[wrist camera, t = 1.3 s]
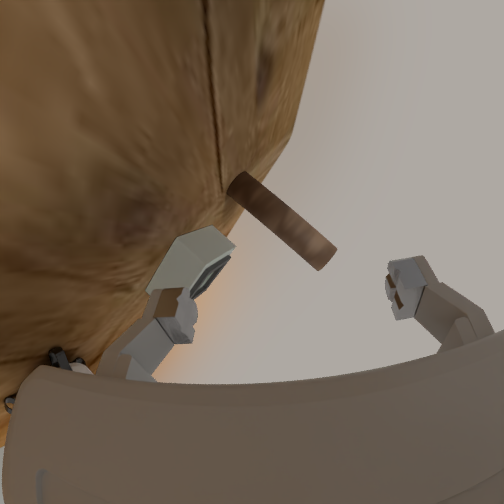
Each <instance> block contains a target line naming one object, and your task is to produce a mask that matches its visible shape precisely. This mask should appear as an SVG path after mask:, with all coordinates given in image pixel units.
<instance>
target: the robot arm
mask: <svg viewBox="0 0 504 504" xmlns="http://www.w3.org/2000/svg"><path fill="white" fill-rule="evenodd" d="M387 269H388V271H389V274H388V275H387V276H386V280H385V289H386V293H387V297H388V299H389V300H390V301H391V302H393V303H392V307H391V308H392V311H393V313H394V316H395V319H396V320H401V319H407V318H412V317H414V318H415V319H416V320H417V321H418V322H419V323H420V324H421V325H422V326H423V327H424V328H426V329H427V330H428V331H429V332H430V333H431V334H432V335H433V336H434V337H435V338H436V339H437V340H438V341H439V342H440V343H441V344H442V345H441V347H440V349H439V350H438V352H437V354H434V355H430V356H427V357H423V358H420V359H416V360H412V361H408V362H404V363H400V364H396V365H391V366H387V367H382V368H378V369H372V370H367V371H361V372H356V373H350V374H345V375H338V376H331V377H323V378H316V379H307V380H297V381H286V382H272V383H255V384H227V385H226V384H208V385H207V384H177V383H160V382H157V381H156V380H155V379H154V378H153V377H152V376H151V375H152V373H153V372H154V371H155V369H156V368H157V367H158V366H159V364H160V363H161V362H162V360H163V359H164V358H165V356H166V355H167V354H168V353H169V351H170V350H171V349H172V347H173V346H174V344H188V343H192V342H193V337H194V332H195V330H194V328H193V325H194V324H195V323H196V322H197V317H198V313H197V312H198V311H197V306H196V303H195V301H194V300H193V299H191V298H189V297H190V292H189V290H188V288H186V287H180V288H165V289H154V290H153V291H152V292H151V295H150V297H149V300H148V303H147V305H146V308H145V311H144V313H143V316H142V319H138V320H137V321H136V322H135V323H134V324H133V325H131V326H130V327H129V328H128V329H127V330H126V331H125V332H124V333H123V334H122V335H121V336H120V337H119V338H118V339H117V340H116V341H114V342H113V343H112V344H111V345H110V346H109V347H108V348H107V349H106V350H105V351H104V352H103V355H102V358H101V360H100V363H99V366H98V369H97V371H96V374H95V375H92V374H86V373H81V372H75V371H70V370H65V369H60V368H56V367H51V366H47V365H40V366H39V367H37V368H36V369H35V370H34V371H33V372H32V373H31V374H30V375H29V376H28V377H27V378H26V379H25V380H24V381H23V382H22V384H21V386H20V388H19V390H18V393H17V396H16V399H15V402H14V406H13V409H12V413H11V417H10V421H9V426H8V430H7V436H6V442H5V448H4V457H3V469H2V489H3V497H4V503H5V504H504V330H502V331H500V332H497V333H495V332H494V330H493V328H492V326H491V324H490V322H489V320H488V318H487V316H486V314H485V312H484V310H483V309H481V308H480V307H478V306H477V305H475V304H474V303H473V302H471V301H470V300H468V299H467V298H465V297H464V296H462V295H461V294H459V293H458V292H456V291H455V290H453V289H452V288H450V287H449V286H447V285H446V284H444V283H443V282H442V283H439V281H438V279H437V278H436V276H435V274H434V272H433V271H432V269H431V267H430V266H429V264H428V262H427V260H426V259H425V257H424V256H416V257H411V258H405V259H399V260H393V261H389V263H388V268H387Z"/></svg>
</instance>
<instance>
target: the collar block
mask: <svg viewBox="0 0 504 504" xmlns="http://www.w3.org/2000/svg"><path fill="white" fill-rule="evenodd" d="M235 247H236V246H235V245H234V244H233V243H232V242H231V241H230V240H228V239H227V238H226V237H225V236H224V235H223V234H222V233H221V232H219V231H218V230H217V229H216V228H215V227H214V226H213V225H210V226H208V227H205V228H202V229H199V230H196V231H193V232H190V233H187V234H184V235H182V236H179V237H176V239H175V241H174V242H173V244H172V246H171V247H170V249H169V250H168V252H167V254H166V255H165V257H164V259H163V260H162V262H161V264H160V266H159V267H158V269H157V271H156V272H155V274H154V276H153V278H152V279H151V281H150V283H149V285H148V286H147V288H146V290H145V291H146V292H147V293H148V294H149V295H151V292H152V291H153V290H154V289H165V288H180V287H186V288H188V290H189V292H190V297H189V298H191V299H193V300H194V299H195V298H197V297H198V296H199V295H200V294H202V293H203V292H204V291H206V289H207V288H208V287H209V286H210V284H211V283H212V281H213V280H214V279H215V278H216V276H217V275H218V274H219V272H220V271H221V270H222V269H223V267H224V266H225V265H226V263H227V262H228V261H229V260H230V258H231V257H230V256H229V255H230V254H231V253H232V251H233V250H234V249H235Z"/></svg>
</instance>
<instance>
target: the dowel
mask: <svg viewBox="0 0 504 504" xmlns="http://www.w3.org/2000/svg"><path fill="white" fill-rule="evenodd" d="M227 194H228V195H229V196H230V197H232V198H233V199H234V200H235V201H236V202H238V203H239V204H240V205H241V206H242V207H244V208H245V209H246V210H247V211H248V212H250V213H251V214H252V215H253V216H254V217H255V218H257V219H258V220H259V221H260V222H262V223H263V224H264V225H265V226H266V227H267V228H268V229H270V230H271V231H272V232H273V233H275V235H277V236H278V237H279V238H280V239H282V240H283V241H284V242H285V243H286V244H287V245H288V246H289V247H291V248H292V249H293V250H294V251H295V252H296V253H297V254H299V255H300V256H301V257H302V258H303V259H304V260H306V261H307V262H308V263H309V264H310V265H311V266H312V267H313V268H315V269H316V270H317V271H319V270H321V269H322V268H323V267H324V266H325V265H326V264H327V262H329V260H330V259H331V258H332V257H333V255H334V254H335V252H336V251H337V248H336V247H335V246H334V245H333V244H332V243H331V242H329V241H328V240H327V239H326V238H325V237H324V236H323V235H321V234H320V233H319V232H318V231H317V230H316V229H315V228H313V227H312V226H311V225H310V224H309V223H308V222H307V221H305V220H304V219H303V218H302V217H301V216H299V215H298V214H297V213H296V212H295V211H294V210H292V209H291V208H290V207H289V206H288V205H286V204H285V203H284V202H283V201H281V200H280V199H279V198H278V197H277V196H275V195H274V194H273V193H272V192H271V191H269V190H268V189H267V188H266V187H264V186H263V185H262V184H261V183H260V182H258V181H257V180H256V179H254V178H253V177H252V176H251V175H249V174H248V173H247V172H242V173H241V174H240V175H238V176H237V177H236V178H235V179H234V181H233V182H232V183H231V185H230V186H229V188H228V190H227Z"/></svg>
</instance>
